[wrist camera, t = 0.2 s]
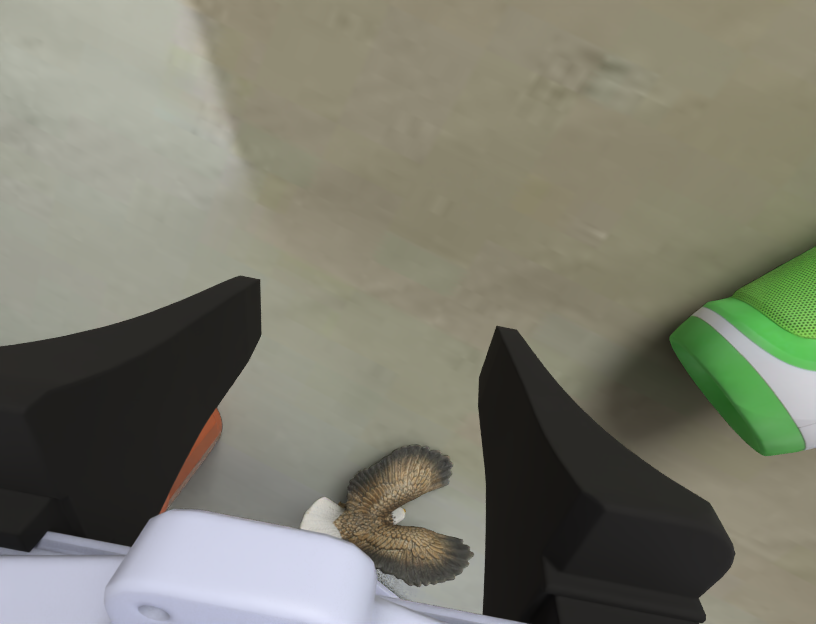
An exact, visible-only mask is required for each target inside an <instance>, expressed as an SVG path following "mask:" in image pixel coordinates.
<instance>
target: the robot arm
mask: <svg viewBox="0 0 816 624" xmlns="http://www.w3.org/2000/svg"><path fill="white" fill-rule="evenodd" d="M260 337H261V297H260V279H255V278H250V277H245V276H237V277H235V278H232V279H229V280H227V281H225V282H222V283H220V284H218V285H215V286H213V287H211V288H209V289H206V290H204V291H202V292H200V293H197V294H195V295H193V296H190V297H188V298H186V299H183V300H181V301H178V302H176V303H173V304H171V305H168V306H166V307H163V308H160V309H158V310H155V311H153V312H150V313H147V314H144V315H141V316H138V317H135V318H132V319H129V320H126V321H122V322H119V323H116V324H112V325H109V326H105V327H101V328H97V329H93V330H88V331H84V332H80V333H75V334H71V335H67V336H62V337H57V338H52V339H46V340H41V341H35V342H28V343H22V344H15V345H8V346H1V347H0V624H699V623H703V622H704V621H706V614H705V612H704V610H703V607H702V605H701V603H700V601H699V597H700V596H701V595H702V594H704V593H705V592H706V591H707V590H708V589H709V588H710V587H712V586H713V585H714V584H715V583H716V582H717V581H718V580H719V579H721V578H722V577H723V576H724V574H725V573H726V572H727V571H728V570H729V568H730V567H731V565H732V563H733V560H734V556H735V551H734V547H733V543H732V542H731V540H730V538H729V536H728V534H727V533H726V531H725V529H724V527H723V525H722V524H721V522H720V520H719V518H718V516H717V515H716V513H715V511H714V509H713V507H712V506H711V504H710V503H709V502H707V501H706V500H704V499H703V498H701V497H699V496H698V495H696V494H694V493H693V492H691V491H689V490H688V489H686V488H685V487H683V486H681V485H680V484H678V483H676V482H675V481H673V480H671V479H670V478H668V477H667V476H665V475H664V474H662V473H661V472H659V471H658V470H656V469H655V468H654V467H652V466H651V465H649V464H648V463H646V462H645V461H643V460H642V459H641V458H639V457H638V456H637V455H635V454H634V453H633V452H631V451H630V450H629V449H627V448H626V447H625V446H623V445H622V444H621V443H620V442H619V441H617V440H616V439H615V438H614V437H612V436H611V435H610V434H609V433H607V432H606V431H605V430H604V429H603V428H602V427H601V426H599V425H598V424H597V423H596V422H595V421H594V420H593V419H592V418H591V417H590V416H589V415H588V414H587V413H586V412H584V411H583V410H582V409H581V408H580V407H579V406H578V405H577V404H576V403H575V402H574V401H573V400H572V398H571V397H570V396H569V395H568V394H567V393H566V392H565V391H564V390H563V388H562V387H561V386H560V385H559V384H558V383H557V382H556V380H555V379H554V378H553V377H552V376H551V374H550V373H549V372H548V371H547V369H546V368H545V367H544V366H543V364H542V363H541V362H540V360H539V359H538V358H537V356H536V355H535V354H534V352H533V351H532V350H531V348H530V347H529V345H528V344H527V343H526V341H525V340H524V339H523V337H522V336H521V335H520V333H519V332H518V331H517V330H515V329H510V328H505V327H500V326H496V329H495V332H494V335H493V338H492V341H491V344H490V347H489V350H488V353H487V356H486V359H485V361H484V364H483V367H482V370H481V373H480V376H479V393H478V409H479V419H480V429H481V438H482V447H483V456H484V465H485V478H486V542H485V574H484V599H483V615H481V614H476V613H470V612H465V611H460V610H455V609H450V608H444V607H439V606H434V605H429V604H424V603H419V602H413V601H408V600H403V599H400V598H399V597H398V596H396V595H395V594H394V593H393V592H392V591H390V590H389V589H388V588H387V587H385V586H384V585H383V584H382V583H380V582H379V581H378V580H377V579H378V577H377V573H376V569H375V565H374V562H373V561H372V559H371V558H370V557H369V556H368V555H367V554H365V553H364V552H363V551H362V550H361V549H359V548H358V547H357V546H356V545H355V544H353V543H351V542H348V541H346V540H343V539H340V538H337V537H334V536H331V535H328V534H324V533H319V532H314V531H309V530H303V529H298V528H293V527H288V526H283V525H278V524H272V523H267V522H262V521H257V520H252V519H247V518H241V517H236V516H231V515H226V514H221V513H216V512H210V511H205V510H199V509H172V510H168V511H166V512H164V513H161V514H159V513H160V511H161V509H162V507H163V505H164V503H165V501H166V499H167V497H168V494H169V492H170V490H171V488H172V486H173V484H174V482H175V480H176V478H177V476H178V474H179V472H180V470H181V468H182V466H183V465H184V463H185V461H186V459H187V457H188V455H189V453H190V451H191V449H192V447H193V446H194V444H195V442H196V440H197V438H198V436H199V434H200V433H201V431H202V429H203V428H204V426H205V424H206V423H207V421H208V420H209V418H210V416H211V415H212V414H213V412H214V411H215V409H216V408H217V406H218V405H219V403H220V402H221V401H222V399H223V398H224V396H225V395H226V393H227V392H228V390H229V389H230V388H231V386H232V385H233V383H234V382H235V380H236V379H237V377H238V376H239V375H240V373H241V372H242V370H243V369H244V367H245V366H246V364H247V363H248V361H249V359H250V357H251V355H252V353H253V351H254V349H255V347H256V345H257V343H258V341H259V339H260Z"/></svg>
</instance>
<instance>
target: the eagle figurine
mask: <svg viewBox="0 0 816 624" xmlns="http://www.w3.org/2000/svg"><path fill="white" fill-rule="evenodd" d="M441 454H442V453H441V452H440V451H438V450H432V451H429V447H428V446H425V447H422V448H421V446H420V445H417V444H416V445H410V446H408V447H402V448H400V449H399V450H394V451H393V453H392V454H391V455H388V456H387V457H384V458H383V459H382V460H381V462H380V463H379V462H378V463H376V464H375V465H372V466H371V467H370V468H369V469H366V468H365V469H364V470H360V471H359V472H358V473H357V474H356V475H355V476H354V478H353V479H352V480H350V484H349V486H348V490H349V493H348V494H347V499H348V501H347V502H346V503H341V502H339V503H338V505H337V504H336V503H335V502H333V501H332V500H330V499H329V498H326V497H322V498H320V499H318V500H317V501H315V503H314V504H313V505H312V506H311V507H310V508H309V509H308V510H307V511H306V512H305V514H304V516H303V520H302V522H301V524H300V529H303V530H309V531H314V532H319V533H324V534H328V535H331V536H334V537H337V538H340V539H343V540H346V541H348V542H351V543H353V544H355V545H356V546H357V547H358V548H359V549H361V550H362V551H363V552H364V553H365V554H367V555H368V556H369V557H370V558H371V559H372V561H373V562H374V565H375V569H380V570H381V571H382V572H383V573H384V574H390V575H394V576H395V577H396V578H397V579H402V580H404V582H405V583H406V584H408V585H409V586H412V585H415V586H417V587H420V586H421V584H424V585H425V586H428V585H429V584H433V585H435V584H437V583H442V582H445V581H449V580H454V579H455V576H457V575H459V574H461V573H462V571H463V569H464V568H466V567H468V565H469V562H468V560H470V559H471V558H472V557H473V556H474V553H473V552H471V551H470V547H469V546H468V545H464V544H463V540H462V539H459V538H455V537H450V536H446V535H443V534H439V533H435V532H434V531H431V530H427V529H425V528H422V527H414V526H401V525H395V524H397V523H398V522H400V521H402V520H403V519H404V517H405V512H406V510H405V509H403V508H402V507H400V506H402V505H403V504H405V503H407V502H409V501H411V500H414V499H416V498H418V497H419V496H421V495H423V494H425V493H427V492H430V491H433V490H435V489H438V488H441V487H444V486H446V485H448V484H449V478H450V476H451V475H452V472H451V471H450V469H451V468H452V467H453V463H452V462H450V461H449V460H450V457H449V456H446V455H441Z"/></svg>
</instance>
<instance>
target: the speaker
mask: <svg viewBox="0 0 816 624" xmlns="http://www.w3.org/2000/svg"><path fill="white" fill-rule="evenodd" d="M669 339H670V343H671V345H672V348H673V350H674V352H675V353H676V355H677V357H678V358H679V360H680V362H681V363H682V365H683V366H684V368H685V369H686V371H687V372H688V374H689V375H690V377H691V378H692V379H693V381H694V382H695V384H696V385H697V386H698V387H699V389H700V390H701V391H702V393H703V394H704V395H705V397H706V398H707V399H708V400H709V402H710V403H711V404H712V405H713V406H714V408H715V409H716V410H717V411H718V412H719V414H720V415H721V416H722V417H723V418H724V419H725V421H726V422H727V423H728V424H729V425H730V426H731V427H732V429H733V430H734V431H735V432H736V433H737V434H738V435H739V436H740V437H741V438H742V439H743V440H744V441H745V442H746V443H747V444H748V445H749V446H751V447H752V448H753V449H754V450H755V451H757V452H758V453H760V454H761V455H764V456H771V455H779V454H786V453H793V452H798V451H802V450H808V449H813V448H816V246H815V247H814V248H812V249H810V250H808V251H806V252H805V253H803V254H801V255H799V256H797V257H796V258H794V259H792V260H790V261H788V262H787V263H785V264H783V265H781V266H779V267H778V268H776V269H774V270H772V271H770V272H769V273H767V274H765V275H763V276H762V277H760V278H758V279H756V280H755V281H753V282H751V283H749V284H747V285H745V286H743V287H741V288H740V289H738V290H737V291H736V292H735V293H734V294H733V295H732V296H731V297H729V298H725V299H721V300H717V301H711V302H707V303H706V304H705V305H704V306H702V307H701V308H700V309H699V310H698V311H696V312H695V313H694V314H693V315H691V316H690V317H689V318H688V319H687V320H686V321H685V322H684V323H682V324H681V325H680V326H679V327H678V328H677V329H676V330H675V331H674V332H673V333H672V334H671V335H670V338H669Z"/></svg>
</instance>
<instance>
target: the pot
mask: <svg viewBox="0 0 816 624" xmlns="http://www.w3.org/2000/svg"><path fill="white" fill-rule="evenodd" d="M221 432H222V420H221V416H220V414H219V412H218V410H217V408H216V409H215V411H214V412H213V414H212V415H211V416H210V418H209V420H208V421H207V423H206V424H205V426H204V428H203V429H202V431H201V433H200V434H199V436H198V438H197V440H196V442H195V444H194V446H193V447H192V449H191V451H190V453H189V455H188V457H187V459H186V461H185V463H184V465H183V466H182V468H181V470H180V472H179V474H178V476H177V478H176V480H175V482H174V484H173V486H172V488H171V490H170V492H169V494H168V497H167V499H166V501H165V503H164V505H163V507H162V509H161V511H160V513H159V514H161V513H164V512H166V511H167V509H168V508H169V506H170V505H171V504H172V502H173V501H174V500H175V498H176V497H177V496H178V494H179V493H180V492H181V490H182V489H183V488H184V486H185V485H186V484H187V482H188V481H189V480H190V478H191V477H192V475H193V474H194V473H195V471H196V470H197V469H198V467H199V466H200V465H201V463H202V462H203V461H204V459H205V458H206V457H207V455H208V454H209V453H210V451H211V450H212V449H213V447H214V446H215V443H216V442H217V441H218V439H219V438H220V435H221Z"/></svg>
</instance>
